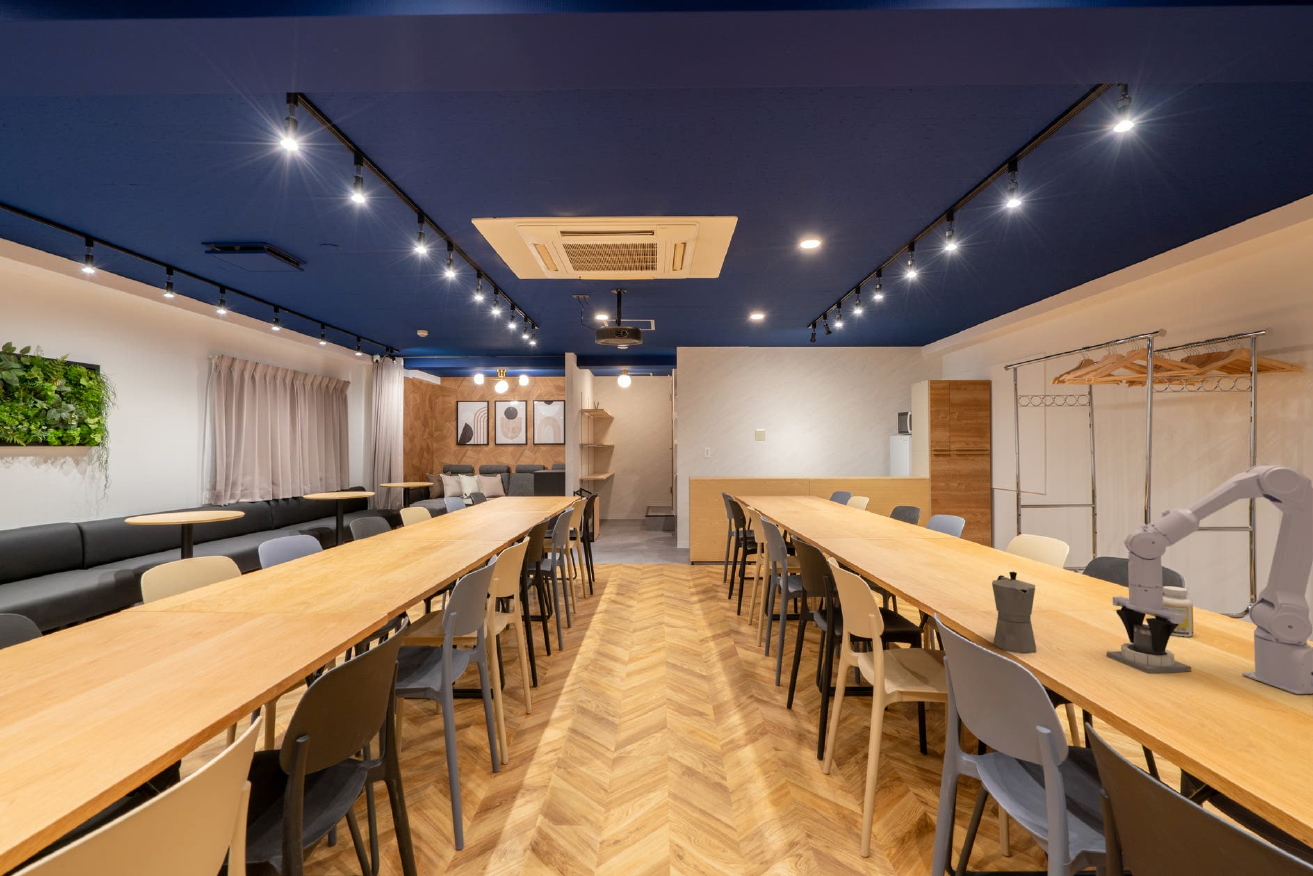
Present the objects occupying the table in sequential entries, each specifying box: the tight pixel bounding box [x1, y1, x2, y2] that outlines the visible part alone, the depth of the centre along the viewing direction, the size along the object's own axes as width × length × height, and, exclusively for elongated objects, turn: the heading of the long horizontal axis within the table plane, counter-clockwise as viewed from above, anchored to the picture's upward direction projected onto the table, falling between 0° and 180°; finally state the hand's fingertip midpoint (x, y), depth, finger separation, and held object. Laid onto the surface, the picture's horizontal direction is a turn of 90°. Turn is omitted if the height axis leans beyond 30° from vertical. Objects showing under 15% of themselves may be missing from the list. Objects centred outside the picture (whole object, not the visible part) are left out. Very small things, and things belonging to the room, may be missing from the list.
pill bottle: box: [1163, 585, 1194, 638], centre depth 144 cm, size 6×6×12 cm
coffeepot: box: [991, 571, 1037, 654], centre depth 136 cm, size 15×9×18 cm, turn 168°
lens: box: [1133, 623, 1163, 655], centre depth 124 cm, size 5×5×6 cm
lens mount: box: [1105, 642, 1192, 674], centre depth 124 cm, size 10×10×3 cm
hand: (1146, 646), depth 124 cm, fingers closed on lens, 5 cm apart
